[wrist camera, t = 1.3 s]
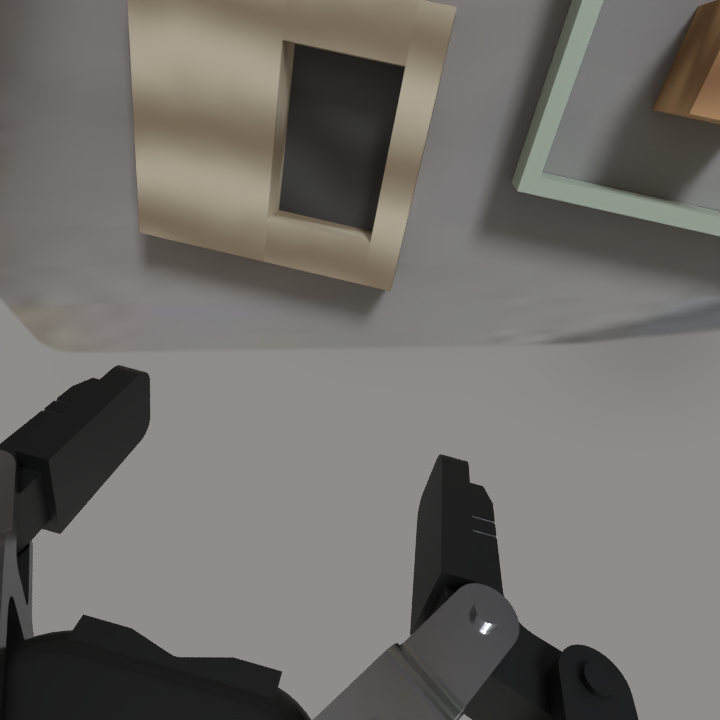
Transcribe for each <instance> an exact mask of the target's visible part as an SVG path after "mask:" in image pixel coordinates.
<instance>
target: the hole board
mask: <svg viewBox="0 0 720 720" xmlns="http://www.w3.org/2000/svg"><path fill="white" fill-rule="evenodd" d="M456 8H457V7H453V6H449V5H444V4H439V3H434V2H429V1H425V0H128V19H129V38H130V57H131V76H132V95H133V114H134V133H135V152H136V171H137V190H138V209H139V228H140V233H143V234H148V235H152V236H156V237H160V238H165V239H169V240H173V241H178V242H182V243H186V244H190V245H195V246H199V247H203V248H208V249H212V250H216V251H220V252H225V253H229V254H233V255H238V256H242V257H246V258H250V259H255V260H259V261H263V262H267V263H272V264H276V265H280V266H285V267H289V268H293V269H297V270H302V271H306V272H310V273H315V274H319V275H323V276H327V277H332V278H336V279H340V280H344V281H349V282H353V283H357V284H362V285H366V286H370V287H374V288H379V289H383V290H387V291H391V287H392V283H393V280H394V276H395V271H396V267H397V263H398V259H399V254H400V250H401V246H402V242H403V237H404V233H405V229H406V224H407V220H408V216H409V212H410V207H411V203H412V199H413V195H414V190H415V186H416V182H417V177H418V173H419V169H420V165H421V160H422V156H423V152H424V148H425V143H426V139H427V135H428V130H429V126H430V122H431V118H432V113H433V109H434V105H435V101H436V96H437V92H438V88H439V83H440V79H441V75H442V71H443V66H444V62H445V58H446V54H447V49H448V45H449V41H450V36H451V32H452V28H453V24H454V19H455V15H456Z"/></svg>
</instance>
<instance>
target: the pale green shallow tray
mask: <svg viewBox="0 0 720 720" xmlns="http://www.w3.org/2000/svg"><path fill="white" fill-rule="evenodd" d="M603 1H604V0H572V1H571V4H570V7H569V10H568V13H567V16H566V19H565V22H564V25H563V28H562V31H561V34H560V37H559V40H558V43H557V46H556V49H555V52H554V55H553V58H552V61H551V64H550V67H549V70H548V73H547V76H546V79H545V82H544V85H543V88H542V92H541V95H540V98H539V101H538V104H537V107H536V110H535V113H534V116H533V119H532V122H531V125H530V128H529V131H528V134H527V137H526V140H525V143H524V146H523V149H522V152H521V155H520V158H519V161H518V164H517V167H516V170H515V173H514V176H513V179H512V182H511V183H512V184H513V186H514V187H515V189H516V190H517V191H519V192H523V193H528V194H532V195H537V196H541V197H546V198H550V199H555V200H559V201H564V202H568V203H573V204H577V205H582V206H586V207H591V208H595V209H600V210H604V211H609V212H613V213H618V214H622V215H626V216H631V217H635V218H640V219H644V220H649V221H653V222H658V223H662V224H667V225H671V226H676V227H680V228H685V229H689V230H694V231H698V232H703V233H707V234H712V235H716V236H720V211H715V210H711V209H706V208H702V207H697V206H693V205H688V204H684V203H679V202H675V201H670V200H666V199H661V198H657V197H652V196H648V195H643V194H638V193H634V192H629V191H625V190H620V189H616V188H611V187H607V186H602V185H598V184H593V183H589V182H584V181H580V180H575V179H571V178H566V177H561V176H557V175H552V174H548V173H543V172H542V171H543V168H544V165H545V162H546V160H547V157H548V154H549V151H550V149H551V146H552V143H553V140H554V137H555V135H556V132H557V129H558V126H559V123H560V121H561V118H562V115H563V112H564V110H565V107H566V104H567V101H568V98H569V96H570V93H571V90H572V87H573V85H574V82H575V79H576V76H577V73H578V71H579V68H580V65H581V62H582V59H583V57H584V54H585V51H586V48H587V46H588V43H589V40H590V37H591V34H592V32H593V29H594V26H595V23H596V21H597V18H598V15H599V12H600V9H601V7H602V4H603Z"/></svg>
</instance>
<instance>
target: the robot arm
mask: <svg viewBox="0 0 720 720" xmlns="http://www.w3.org/2000/svg"><path fill="white" fill-rule="evenodd" d="M149 421H150V378H149V375H148V373H146V372H142V371H138V370H135V369H131V368H127V367H124V366H120V365H118V366H115V367H114V368H113V369H111V370H110V371H109V372H108V373H107V374H106V375H105V376H103V377H102V378H101V379H100V380H99V379H95V378H91V379H89V380H87V381H84V382H82V383H79V384H77V385H74V386H72V387H71V388H69V389H68V390H67V391H66V392H65V393H63V394H62V395H61V396H59V397H58V398H57V401H53V402H52V403H51V404H50V405H48V406H47V407H46V408H45V410H44V411H41V412H39V413H38V414H37V415H36V416H34V417H33V418H32V419H31V420H29V421H28V422H27V423H26V424H24V425H23V426H22V427H21V428H19V429H18V430H17V431H16V432H14V433H13V434H12V435H11V436H9V437H8V438H7V439H6V440H5V441H3V442H2V443H1V444H0V720H311V719H310V717H309V716H308V714H307V713H306V712H305V711H304V710H303V708H302V707H301V706H300V705H299V704H298V702H296V701H295V700H294V699H293V698H292V697H291V696H290V695H288V694H287V693H286V692H284V691H283V690H281V689H280V688H278V685H279V681H280V677H281V673H282V672H281V671H278V670H275V669H271V668H268V667H264V666H261V665H257V664H254V663H250V662H247V661H243V660H239V659H236V658H206V657H204V658H203V657H201V658H200V657H198V658H195V657H191V658H189V657H183V658H182V657H176V656H173V655H171V654H169V653H168V652H166V651H165V650H163V649H162V648H160V647H159V646H157V645H156V644H154V643H153V642H151V641H150V640H148V639H147V638H145V637H144V636H142V635H140V634H139V633H138V632H136V631H135V630H133V629H132V628H128V627H124V626H121V625H118V624H114V623H111V622H107V621H104V620H100V619H96V618H93V617H90V616H86V615H83V616H82V618H81V619H80V620H79V622H78V623H77V625H76V626H75V628H74V629H73V630H72V631H60V632H52V633H48V634H43V635H39V636H35V637H34V634H33V625H32V572H33V569H32V568H33V543H32V539H33V538H34V537H35V536H36V534H37V533H38V532H39V531H40V530H41V529H45V530H48V531H52V532H55V533H59V534H60V533H62V531H63V530H64V529H65V528H66V527H67V526H68V524H69V523H70V522H71V521H72V520H73V519H74V517H75V516H76V515H77V514H78V513H79V512H80V510H81V509H82V508H83V507H84V506H85V505H86V504H87V502H88V501H89V500H90V499H91V498H92V497H93V495H94V494H95V493H96V492H97V491H98V490H99V488H100V487H101V486H102V485H103V483H105V481H106V480H107V479H108V478H109V477H110V476H111V475H112V473H113V472H114V471H115V470H116V469H117V468H118V466H119V465H120V464H121V463H122V462H123V461H124V459H125V458H126V457H127V456H128V455H129V454H130V452H131V451H132V450H133V449H134V448H135V447H136V445H137V444H138V443H139V442H140V441H141V440H142V438H143V437H144V435H145V433H146V431H147V429H148V426H149ZM494 521H495V520H494V511H493V503H492V501H491V500H490V498H489V496H488V494H487V493H486V491H485V489H484V487H483V486H480V485H476V484H473V483H470V479H469V465H468V462H467V461H463V460H460V459H456V458H452V457H449V456H445V455H441V454H440V455H439V456H438V458H437V460H436V462H435V465H434V468H433V470H432V472H431V475H430V477H429V480H428V482H427V485H426V487H425V490H424V492H423V495H422V498H421V501H420V505H419V510H418V518H417V533H416V550H415V565H414V581H413V597H412V614H411V630H410V634H411V636H410V637H409V638H408V639H407V640H406V641H405V642H404V643H402V644H401V645H399V644H398V643H396V644H394V645H392V646H391V647H390V648H388V649H387V650H386V651H385V652H384V653H383V654H382V655H381V656H380V657H378V658H377V659H376V660H375V661H374V662H373V663H372V664H371V665H370V666H369V667H368V668H367V669H366V670H365V671H364V672H363V673H362V674H361V675H360V676H359V677H357V678H356V679H355V680H354V681H353V682H352V683H351V684H350V685H349V686H348V687H347V688H346V689H345V690H344V691H343V692H342V693H341V694H340V695H339V696H338V697H337V698H336V699H334V700H333V701H332V702H331V703H330V704H329V705H328V706H327V707H326V708H325V709H324V710H323V711H322V712H321V713H320V714H319V715H318V716H317V717H315V718H314V719H313V720H460V719H461V717H462V716H463V715H464V714H465V715H467V716H468V717H469V718H471V719H472V720H638V716H637V713H636V708H635V705H634V701H633V697H632V694H631V691H630V688H629V686H628V683H627V681H626V680H625V678H624V676H623V675H622V673H621V672H620V671H619V669H618V668H617V667H616V666H615V665H614V664H613V663H612V662H611V661H610V660H609V659H608V658H607V657H606V656H604V655H603V654H602V653H600V652H598V651H597V650H595V649H593V648H590V647H588V646H584V645H571V646H569V647H567V648H566V649H564V650H563V652H561V651H560V650H558V649H556V648H555V647H553V646H551V645H550V644H548V643H547V642H545V641H543V640H542V639H540V638H539V637H537V636H535V635H534V634H532V633H531V632H529V631H528V630H527V629H526V628H524V627H523V626H522V625H521V624H520V623H519V622H518V618H517V615H516V613H515V611H514V609H513V607H512V606H511V605H510V603H509V602H508V600H507V599H505V597H504V595H503V589H502V580H501V571H500V564H499V554H498V545H497V539H496V528H495V524H494Z"/></svg>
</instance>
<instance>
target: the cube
mask: <svg viewBox="0 0 720 720" xmlns="http://www.w3.org/2000/svg"><path fill="white" fill-rule="evenodd" d="M653 110H654V111H659V112H663V113H668V114H672V115H677V116H682V117H686V118H691V119H696V120H700V121H705V122H710V123H714V124H719V125H720V0H716V1H713V2H710V3H707V4H704V5H701V6H698V8H697V11H696V13H695V15H694V17H693V20H692V22H691V24H690V26H689V29H688V31H687V33H686V35H685V38H684V40H683V42H682V44H681V47H680V49H679V51H678V53H677V56H676V58H675V60H674V62H673V65H672V67H671V69H670V71H669V74H668V76H667V78H666V80H665V83H664V85H663V87H662V89H661V92H660V94H659V96H658V98H657V101H656V103H655V105H654V107H653Z"/></svg>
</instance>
